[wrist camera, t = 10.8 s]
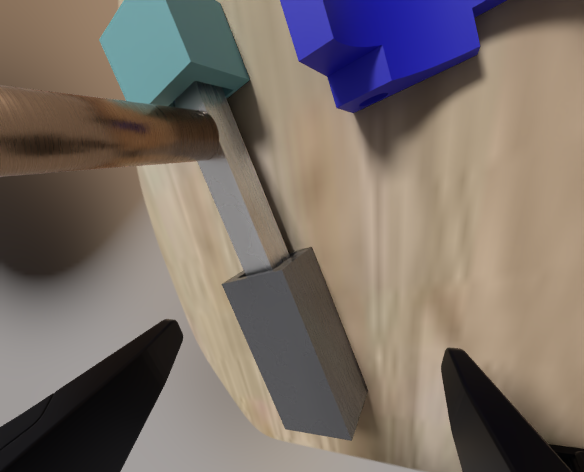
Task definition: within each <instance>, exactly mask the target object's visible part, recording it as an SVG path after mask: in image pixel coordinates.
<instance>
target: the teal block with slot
mask: <svg viewBox="0 0 584 472" xmlns="http://www.w3.org/2000/svg"><path fill="white" fill-rule="evenodd" d="M99 40H100V42H101V45H102V47H103V49H104V52H105V54H106V56H107V58H108V61H109V63H110V65H111V67H112V70H113V72H114V74H115V76H116V78H117V81H118V83H119V85H120V87H121V90H122V92H123V94H124V97H125V99H126V101H130V102H138V103H146V104H154V105H162V106H170V107H174V105H173V103H172V102H173V101H174V100H175V99H176V98H177V97H178V96H179V95H180V94H182V93H183V92H184V91H185V90H186V89H187V88H188V87H189V86H190V85H191V84H192V83H193V82H194V81H199V82H203V83H207V84H211V85H215V86H220V87H222V89H223V92H224V94H225V97H226V99H227V98H228V97H229V96H231V95H232V94H233V93H234V92H236V91H237V90H238V89H239V88H241V87H242V86H243V85H244V84H246V83H247V82H248V81H249V80H250V78H249V76H248V73H247V71H246V68H245V66H244V63H243V61H242V58H241V55H240V53H239V50H238V48H237V45H236V43H235V40H234V38H233V35H232V32H231V30H230V27H229V25H228V22H227V20H226V17H225V15H224V12H223V9H222V7H221V4H220V3H219V2H217V1H215V0H124V1H123V3H122V4H121V6H120V7H119V9H118V11H117V12H116V14H115V15H114V17H113V19H112V20H111V22H110V23H109V25H108V27H107V28H106V30H105V31H104V33H103V35H102V36H101V38H100V39H99Z"/></svg>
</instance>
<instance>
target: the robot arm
mask: <svg viewBox="0 0 584 472" xmlns="http://www.w3.org/2000/svg"><path fill="white" fill-rule="evenodd" d="M182 341H183V334H182V331H181V329H180V327H179V325H178V322H177V321H176V320H171V319H165V320H163V321H161V322H160V323H158V324H157V325H155V326H154V327H152V328H151V329H149V330H148V331H146V332H145V333H143V334H142V335H140V336H139V337H137V338H135V339H134V340H133V341H131V342H130V343H128V344H127V345H125V346H124V347H122V348H121V349H119V350H117V351H116V352H114V353H113V354H111V355H110V356H108V357H107V358H105V359H104V360H102V361H101V362H99V363H98V364H96V365H95V366H93V367H92V368H90V369H89V370H87V371H86V372H84V373H83V374H81V375H80V376H78V377H77V378H75V379H74V380H72V381H71V382H69V383H68V384H66V385H65V386H63V387H62V388H60V389H59V390H57V391H56V392H55V393H54V394H51V395H50V396H48V397H47V398H45V399H44V400H42V401H41V402H39V403H38V404H36V405H35V406H33V407H32V408H30V409H28V410H27V411H25V412H24V413H22V414H21V415H19V416H18V417H16V418H14V419H13V420H11V421H9V422H8V423H6V424H4V425H3V426H1V427H0V472H120V471H121V469H122V467H123V465H124V463H125V461H126V460H127V458H128V455H129V454H130V452H131V450H132V448H133V446H134V444H135V442H136V440H137V438H138V436H139V434H140V432H141V430H142V428H143V426H144V424H145V422H146V420H147V418H148V416H149V414H150V412H151V410H152V409H153V407H154V405H155V403H156V401H157V399H158V397H159V395H160V393H161V391H162V389H163V387H164V385H165V383H166V381H167V378H168V376H169V374H170V371H171V369H172V366H173V364H174V361H175V359H176V356H177V353H178V351H179V349H180V346H181V343H182ZM441 372H442V379H443V384H444V390H445V396H446V402H447V408H448V414H449V420H450V426H451V430H452V434H453V438H454V442H455V446H456V449H457V453H458V456H459V460H460V464H461V467H462V471H463V472H584V449H579V448H571V447H563V446H555V445H548V444H547V443H546V442H545V441H544V439H543V438H542V437H541V436H540V435H539V434H538V433H537V432H536V431H535V429H534V428H533V427H532V426H531V425H530V424H529V423H528V422H527V420H526V419H525V418H524V417H523V416H522V415H521V414H520V413H519V411H518V410H517V409H516V408H515V407H514V406H513V405H512V404H511V403H510V401H509V400H508V399H507V398H506V397H505V396H504V395H503V394H502V392H501V391H500V390H499V389H498V388H497V387H496V386H495V385H494V383H493V382H492V381H491V380H490V379H489V378H488V377H487V376H486V375H485V373H484V372H483V371H482V370H481V369H480V368H479V367H478V366H477V364H476V363H475V362H474V361H473V360H472V359H471V358H470V357H469V356H468V354H467V353H466V352H465V351H464V350H462V349H458V348H447V349H446V350H445V354H444V357H443V361H442V365H441Z"/></svg>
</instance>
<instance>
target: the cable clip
mask: <svg viewBox="0 0 584 472" xmlns="http://www.w3.org/2000/svg"><path fill="white" fill-rule="evenodd" d="M505 1H507V0H280V2H281V5H282V8H283V11H284V15H285V18H286V21H287V24H288V28H289V31H290V34H291V37H292V41H293V44H294V47H295V50H296V54H297V57H298V60H299V62H301V63H303V64H305V65H307V66H308V67H310V68H312V69H314V70H316V71H318V72H320V73H321V74H323V75H325V76H327V77H328V80H329V84H330V87H331V91H332V94H333V97H334V101H335V104H336V107H337V108H338V109H342V110H345V111H348V112H352V113H355V112H357V111H359V110H361V109H363V108H365V107H368V106H370V105H372V104H374V103H376V102H378V101H380V100H382V99H385V98H387V97H389V96H391V95H393V94H395V93H397V92H399V91H402V90H404V89H406V88H408V87H410V86H412V85H414V84H416V83H419V82H421V81H423V80H425V79H427V78H429V77H431V76H433V75H436V74H438V73H440V72H442V71H444V70H446V69H448V68H450V67H453V66H455V65H457V64H459V63H461V62H463V61H465V60H467V59H470V58H472V57H474V56H476V55H477V54H478V51H479V49H480V43H479V38H478V33H477V29H476V24H475V19H474V18H475V17H477V16H479V15H481V14H483V13H484V12H486V11H488V10H490V9H492V8H494V7H496V6H498V5H499V4H501V3H503V2H505Z"/></svg>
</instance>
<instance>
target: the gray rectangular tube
mask: <svg viewBox="0 0 584 472" xmlns="http://www.w3.org/2000/svg"><path fill="white" fill-rule="evenodd" d="M289 255H290V258H289V259H287V260H286V261H285V262H283V263H282V264H281V265H279V266H278V267H276V268H275V269H274V270H270V271H266V272H262V273H258V274H254V275H250V276H246V274H245V272H244V270H243V271H242V272H240V273H239V274H237V275H236V276H234V277H232V278H231V279H229V280H228V281H226V282H224V283H223V284H222V286H223V288H224V290H225V293H226V295H227V297H228V300H229V302H230V304H231V306H232V309H233V311H234V313H235V315H236V318H237V320H238V322H239V325H240V327H241V329H242V331H243V334H244V336H245V338H246V340H247V343H248V345H249V347H250V350H251V352H252V354H253V356H254V359H255V361H256V363H257V365H258V368H259V370H260V372H261V375H262V377H263V379H264V381H265V384H266V386H267V388H268V390H269V393H270V395H271V397H272V400H273V402H274V404H275V406H276V409H277V411H278V413H279V416H280V418H281V420H282V422H283V425H284V427H285V429H287V430H293V431H299V432H305V433H311V434H316V435H322V436H328V437H334V438H339V439H345V440H351V441H352V438H353V435H354V432H355V429H356V426H357V423H358V420H359V417H360V414H361V410H362V407H363V404H364V401H365V398H366V395H367V392H368V390H367V387H366V384H365V382H364V379H363V377H362V374H361V372H360V369H359V367H358V364H357V362H356V359H355V356H354V354H353V351H352V349H351V346H350V344H349V341H348V339H347V336H346V334H345V331H344V328H343V326H342V323H341V321H340V318H339V316H338V313H337V311H336V308H335V306H334V303H333V300H332V298H331V295H330V293H329V290H328V288H327V285H326V283H325V280H324V278H323V275H322V272H321V270H320V267H319V265H318V262H317V260H316V257H315V255H314V252H313V250H312V247H309V248H306V249H302V250H299V251H295V252H291V253H289Z"/></svg>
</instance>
